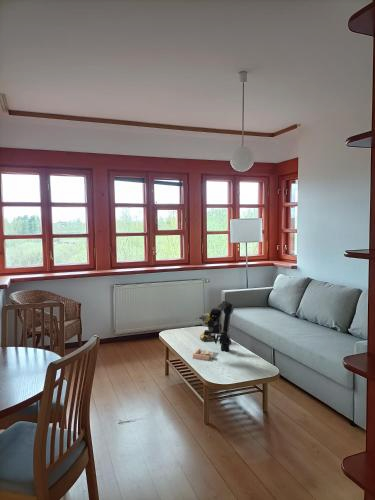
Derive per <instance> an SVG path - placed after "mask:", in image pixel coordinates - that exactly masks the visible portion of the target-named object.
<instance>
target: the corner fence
mask: <svg viewBox="0 0 375 500" xmlns="http://www.w3.org/2000/svg"><path fill="white" fill-rule="evenodd" d="M200 350H201V347H199V348H198V349H197V350H195V351H194V352H193V353H192V359H194V358H196V359H195V360H200V359H202V360H203V361H207V360H209V356H206V355H199V353H200Z"/></svg>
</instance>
